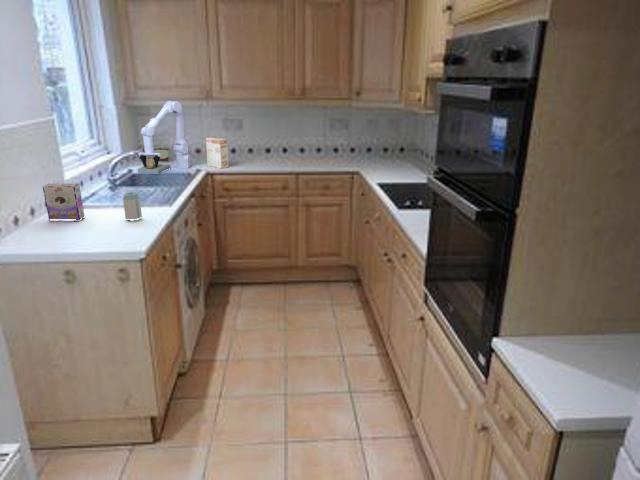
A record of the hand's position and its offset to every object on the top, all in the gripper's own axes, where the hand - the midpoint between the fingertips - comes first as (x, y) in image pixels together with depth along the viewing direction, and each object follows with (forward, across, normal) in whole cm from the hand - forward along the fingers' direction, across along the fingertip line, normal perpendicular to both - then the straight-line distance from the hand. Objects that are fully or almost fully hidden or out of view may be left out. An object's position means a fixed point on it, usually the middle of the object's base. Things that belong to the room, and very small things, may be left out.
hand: (150, 167), depth 318 cm
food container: (+3, -9, +38) cm, 39 cm away
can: (+3, +41, -98) cm, 107 cm away
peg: (+3, 0, 0) cm, 3 cm away
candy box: (+3, +12, -104) cm, 105 cm away
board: (+3, 0, +4) cm, 6 cm away
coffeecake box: (+3, +36, +26) cm, 45 cm away
